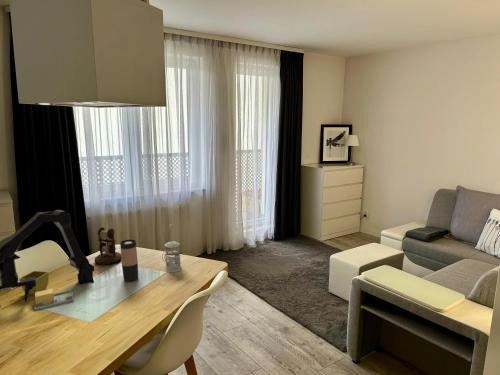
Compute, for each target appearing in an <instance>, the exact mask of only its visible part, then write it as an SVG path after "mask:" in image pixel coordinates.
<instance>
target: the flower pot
mask: <svg viewBox="0 0 500 375" xmlns="http://www.w3.org/2000/svg"><path fill="white" fill-rule="evenodd" d="M29 277H36V286H35V287H33V289H30V291H29V293H28V295H34V296H35V292H39V291H43V290H47V287H48V285H49V279H50V278H49V277H50V272H49V271H42V270H33V271H30V272H29V273H27V274H25V275H23V276H21V277H18V281H19V282H22V281H25V278H29ZM21 289H22V291H24V292H25V286H21Z"/></svg>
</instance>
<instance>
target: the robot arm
mask: <svg viewBox="0 0 500 375" xmlns="http://www.w3.org/2000/svg"><path fill="white" fill-rule="evenodd" d="M43 223H54V225H55V226H56V227H57V228H58V229H59V230H60V232H61V235H62V237H63V239H64V242H65V244H66V246H67V248H68V251H69V253H70V257H69V258H67V260H68V261H69V265H70V266H71V267H73V268H74V269H76V270H77V272H78V273H77V274H76V275H77V283H78V284H79V285H86V284H90V283H91V284H93V283H95V280H94V274H93V272H94V271H95V265H93V264H92V263H90V260H89V258H87V257H86V255H85V254H84V253H83V252H82V251H81V249H80V246H79V243H78V241H77V239H76V237H75V234H74V231H73V229H72V218H71V215H70V213H69V212H67V211H64V210H61V209H56V210H53V211H44V212H43V211H42V212H40V211H39V212H36V213H35V214H34V215H33V217H31V218H30V219H29V220H28V221H27V222H25V223H24V224H23V225H22V226H21V227H20V228H18V229H17V230H16V231H15V232H14V233H13V234H12V235H10V236H7V237H4V239H2V240H0V282H1V283H0V284H1V285H0V292H1V291H4V290H9V289H14V288H15V289H16V288H19V287H22V286H25V291H24V303H27V299H28V297H29V294H28V293H29V291H30V289H33V287H35V286H36V277H29V278H25V281H22V282H20V281H19V275H18V272H17V266H16V262H15V261H16V260H18V259H20V258H21V256H20V255H17V254H16V252H17V250H18V249H19V247H20V245H21V243H22V242H24V240H25V239H27V238H28V237H29V236H30V235H31V234H32V233H33V232H34V231H35V230H37V229H38V228H39V227H41V225H42V224H43ZM0 309H2V306H1V305H0Z"/></svg>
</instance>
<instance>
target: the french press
mask: <svg viewBox="0 0 500 375" xmlns="http://www.w3.org/2000/svg"><path fill="white" fill-rule="evenodd" d="M168 227H169V228H172V227H174V225H173V224H169V225H168ZM170 236H171V238H170V239H171V241H168V242H166V243H165V244H164V247H165V249H164V250H163V251H162V253H161V254H162V255H161V258H162V261H163V262H164V263H165V268H164V271H165V272H168V273H175V272H179V271H182V270H183V266H182V265H181V254H180V250H179V249H173V248H177V247H179V246H180V243H179V242H178V241H175V240H173V237H172V236H173V234H172V231H170ZM166 248H168V249H166ZM163 256H164V257H163Z"/></svg>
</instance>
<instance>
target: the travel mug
mask: <svg viewBox="0 0 500 375" xmlns="http://www.w3.org/2000/svg"><path fill="white" fill-rule="evenodd" d="M119 244H120V246H119V247H120V254H121V259H120V260H121V267H122V269H121V270H122V277H123V278H122V279H123V281H124V282H125V283H133V282H135V281H138V280H139V262H138V261H139V260H138V251H137V241H136V239H125V240H122V241H120V243H119Z"/></svg>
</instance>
